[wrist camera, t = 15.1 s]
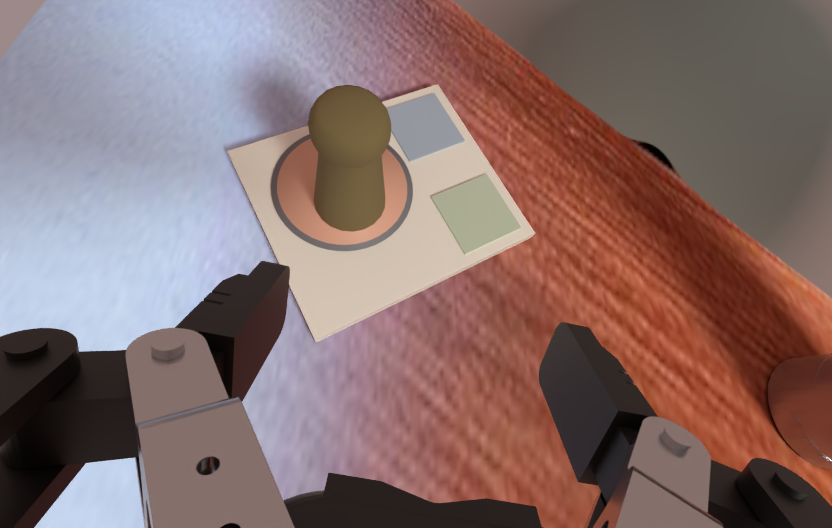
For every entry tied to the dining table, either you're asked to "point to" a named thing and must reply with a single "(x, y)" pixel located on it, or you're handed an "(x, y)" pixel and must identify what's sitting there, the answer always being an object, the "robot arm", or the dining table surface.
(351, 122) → the olive pawn
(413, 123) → the picture board
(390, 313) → the dining table surface
